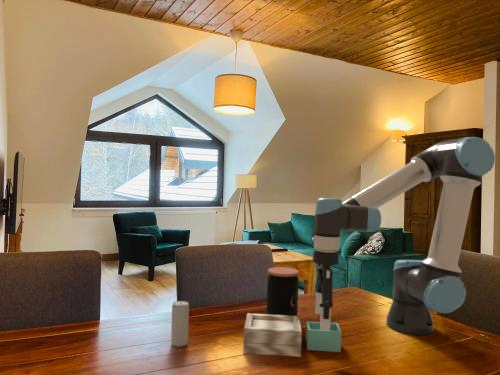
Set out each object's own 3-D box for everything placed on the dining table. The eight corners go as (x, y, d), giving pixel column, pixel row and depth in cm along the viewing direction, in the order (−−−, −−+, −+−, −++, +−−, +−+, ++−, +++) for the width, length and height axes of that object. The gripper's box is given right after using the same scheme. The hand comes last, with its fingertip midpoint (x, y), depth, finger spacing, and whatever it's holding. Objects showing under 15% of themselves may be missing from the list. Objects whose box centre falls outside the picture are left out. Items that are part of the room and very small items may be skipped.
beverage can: (173, 348, 116) (175, 306, 115) (168, 342, 120) (170, 301, 120) (190, 345, 118) (191, 304, 118) (184, 339, 122) (186, 300, 122)
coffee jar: (295, 329, 134) (297, 275, 133) (263, 326, 136) (265, 272, 135) (298, 319, 144) (300, 268, 144) (268, 316, 146) (270, 266, 146)
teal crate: (336, 342, 124) (337, 323, 124) (340, 352, 117) (341, 331, 117) (305, 340, 125) (306, 321, 125) (307, 350, 118) (308, 329, 118)
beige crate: (298, 338, 126) (299, 316, 126) (300, 356, 113) (301, 331, 113) (246, 335, 127) (247, 313, 127) (243, 353, 114) (243, 328, 114)
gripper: (309, 243, 133) (306, 307, 134) (317, 256, 108) (313, 335, 109) (333, 244, 133) (329, 309, 133) (346, 258, 108) (341, 338, 108)
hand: (322, 321), depth 121 cm, fingers open, 13 cm apart
